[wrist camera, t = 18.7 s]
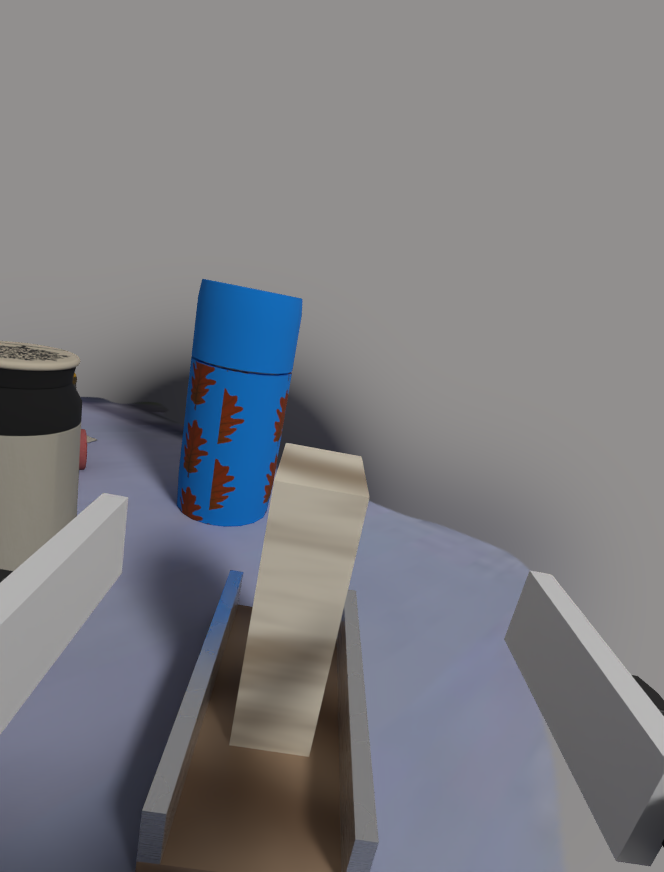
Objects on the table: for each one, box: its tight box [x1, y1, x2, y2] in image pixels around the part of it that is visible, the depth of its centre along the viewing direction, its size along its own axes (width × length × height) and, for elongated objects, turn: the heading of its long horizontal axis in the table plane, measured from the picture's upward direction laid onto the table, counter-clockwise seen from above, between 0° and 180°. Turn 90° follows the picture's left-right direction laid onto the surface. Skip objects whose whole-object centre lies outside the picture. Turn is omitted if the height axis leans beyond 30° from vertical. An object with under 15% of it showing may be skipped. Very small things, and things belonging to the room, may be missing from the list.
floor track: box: [135, 570, 379, 872], centre depth 29 cm, size 18×10×4 cm, turn 0°
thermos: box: [177, 279, 302, 526], centre depth 52 cm, size 11×11×25 cm
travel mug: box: [0, 341, 82, 571], centre depth 35 cm, size 8×8×18 cm
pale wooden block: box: [229, 443, 369, 757], centre depth 27 cm, size 6×4×16 cm
